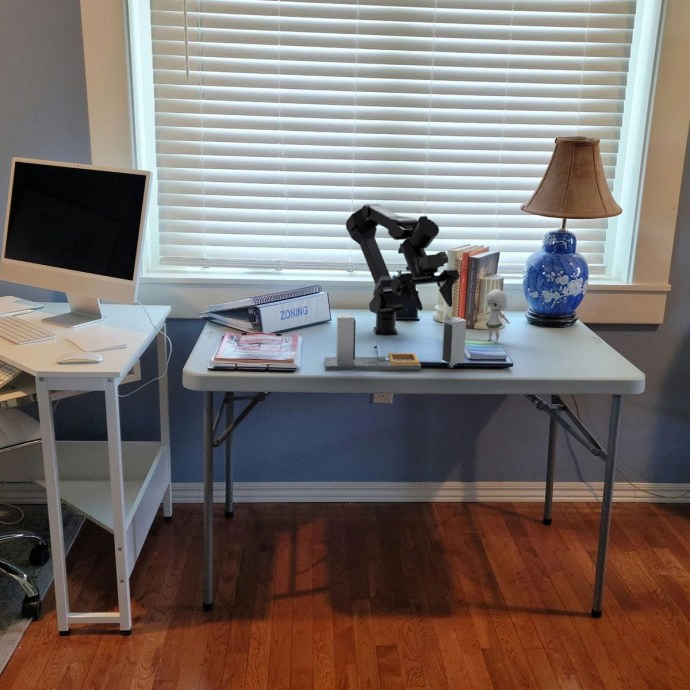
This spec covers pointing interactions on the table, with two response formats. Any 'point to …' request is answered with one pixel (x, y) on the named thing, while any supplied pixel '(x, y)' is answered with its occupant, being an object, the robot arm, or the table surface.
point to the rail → (350, 362)
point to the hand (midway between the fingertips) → (436, 308)
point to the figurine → (495, 311)
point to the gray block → (454, 340)
